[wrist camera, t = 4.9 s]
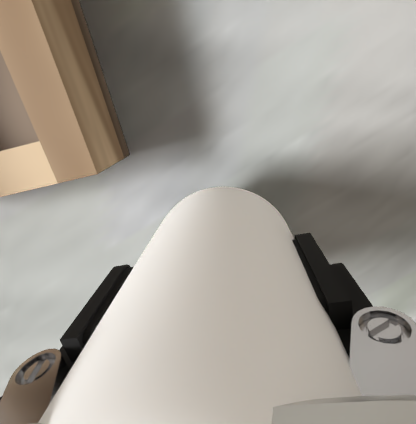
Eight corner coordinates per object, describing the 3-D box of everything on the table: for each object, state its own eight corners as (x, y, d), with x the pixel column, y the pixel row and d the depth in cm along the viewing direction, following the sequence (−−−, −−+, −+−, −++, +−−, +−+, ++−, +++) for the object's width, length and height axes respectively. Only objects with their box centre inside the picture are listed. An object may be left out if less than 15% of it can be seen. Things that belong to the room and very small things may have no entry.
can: (172, 168, 13) (-237, 575, 2) (310, 202, 13) (820, 834, 2) (150, 284, 15) (-85, 785, 4) (267, 313, 15) (364, 893, 4)
